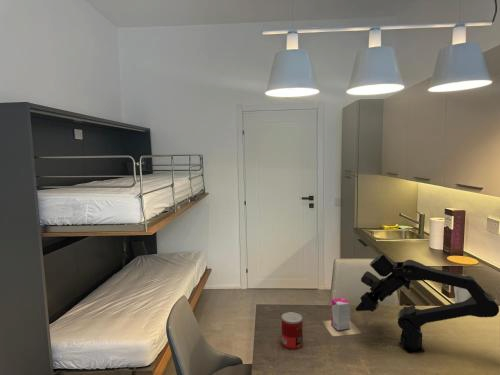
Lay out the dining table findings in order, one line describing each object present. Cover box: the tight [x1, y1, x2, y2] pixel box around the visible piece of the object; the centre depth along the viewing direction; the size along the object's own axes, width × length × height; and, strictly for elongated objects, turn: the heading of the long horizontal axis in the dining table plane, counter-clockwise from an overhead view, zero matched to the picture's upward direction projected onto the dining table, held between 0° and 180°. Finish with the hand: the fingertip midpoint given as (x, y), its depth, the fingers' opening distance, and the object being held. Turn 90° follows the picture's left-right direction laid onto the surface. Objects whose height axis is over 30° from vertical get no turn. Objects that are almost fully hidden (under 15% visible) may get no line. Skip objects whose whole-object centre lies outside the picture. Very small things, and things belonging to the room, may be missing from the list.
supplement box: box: [330, 297, 351, 332], centre depth 140 cm, size 6×6×12 cm
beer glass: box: [453, 274, 472, 303], centre depth 154 cm, size 7×7×15 cm
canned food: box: [281, 312, 304, 350], centre depth 129 cm, size 8×8×11 cm
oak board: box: [321, 319, 362, 337], centre depth 141 cm, size 12×12×1 cm
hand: (360, 305), depth 135 cm, fingers open, 9 cm apart
